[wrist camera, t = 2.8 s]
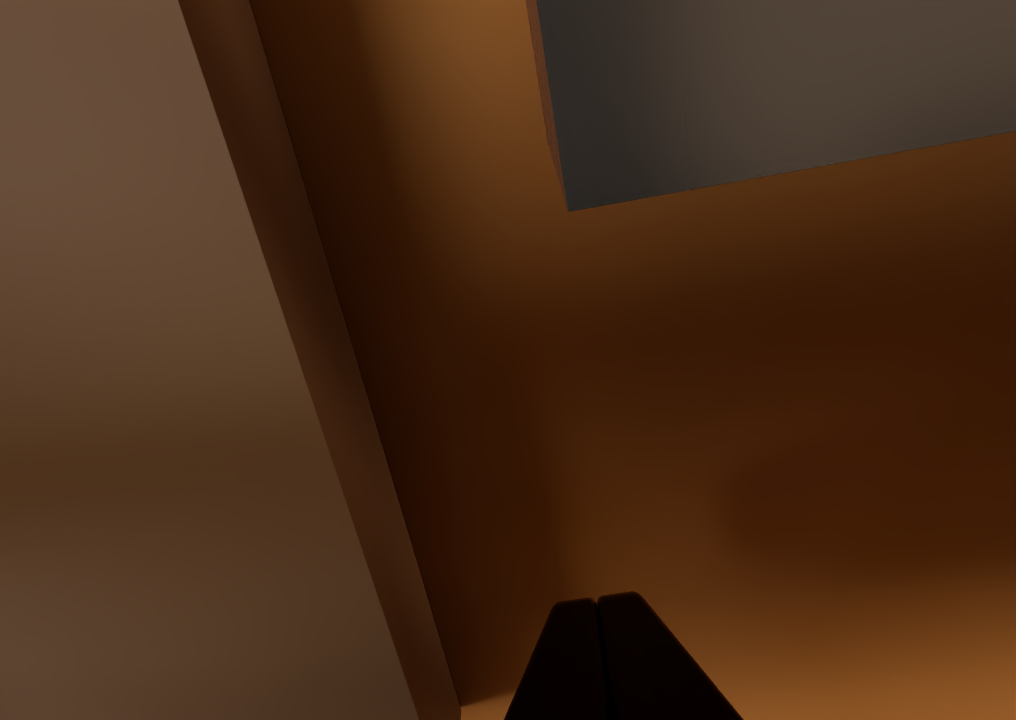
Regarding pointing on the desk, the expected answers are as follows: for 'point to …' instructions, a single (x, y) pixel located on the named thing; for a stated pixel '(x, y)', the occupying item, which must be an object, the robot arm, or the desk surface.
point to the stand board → (183, 396)
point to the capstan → (760, 86)
